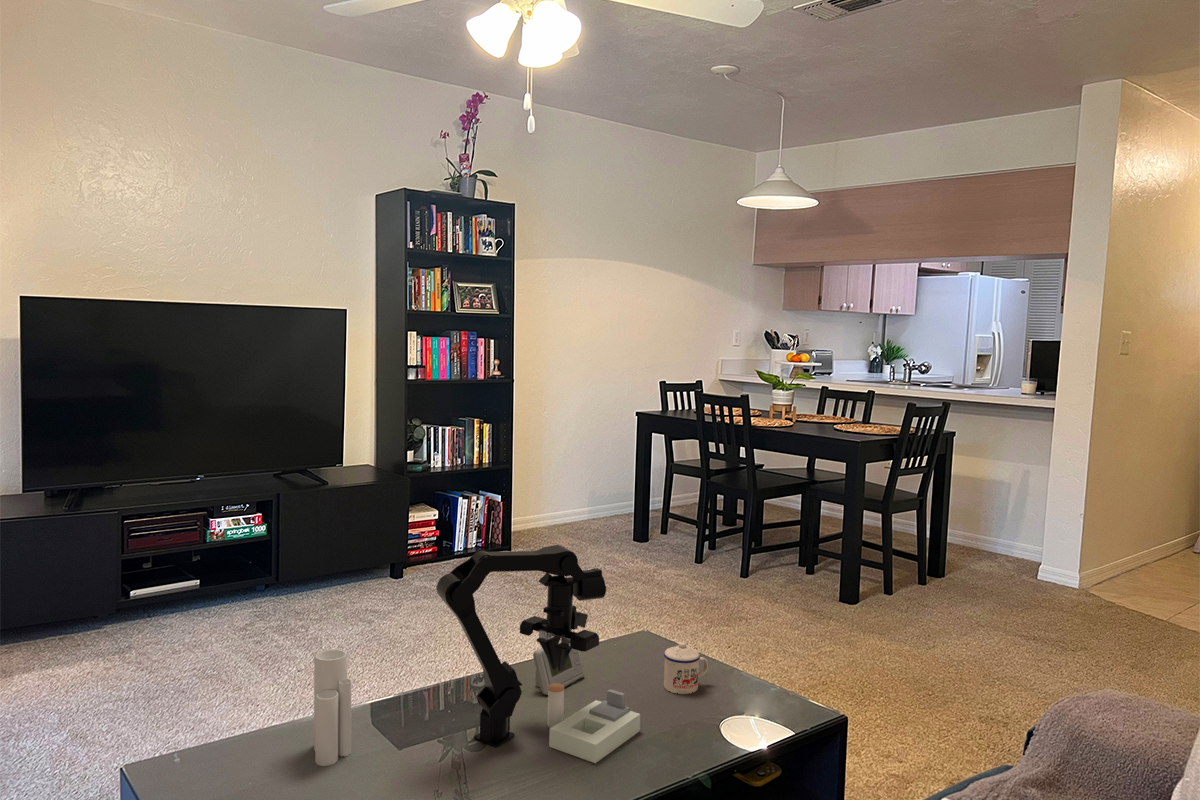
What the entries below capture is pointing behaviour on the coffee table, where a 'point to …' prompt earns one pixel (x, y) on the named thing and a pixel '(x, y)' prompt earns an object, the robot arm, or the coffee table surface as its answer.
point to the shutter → (611, 706)
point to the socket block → (592, 733)
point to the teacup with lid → (682, 669)
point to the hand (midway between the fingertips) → (557, 670)
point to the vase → (331, 707)
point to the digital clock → (557, 670)
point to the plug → (555, 704)
